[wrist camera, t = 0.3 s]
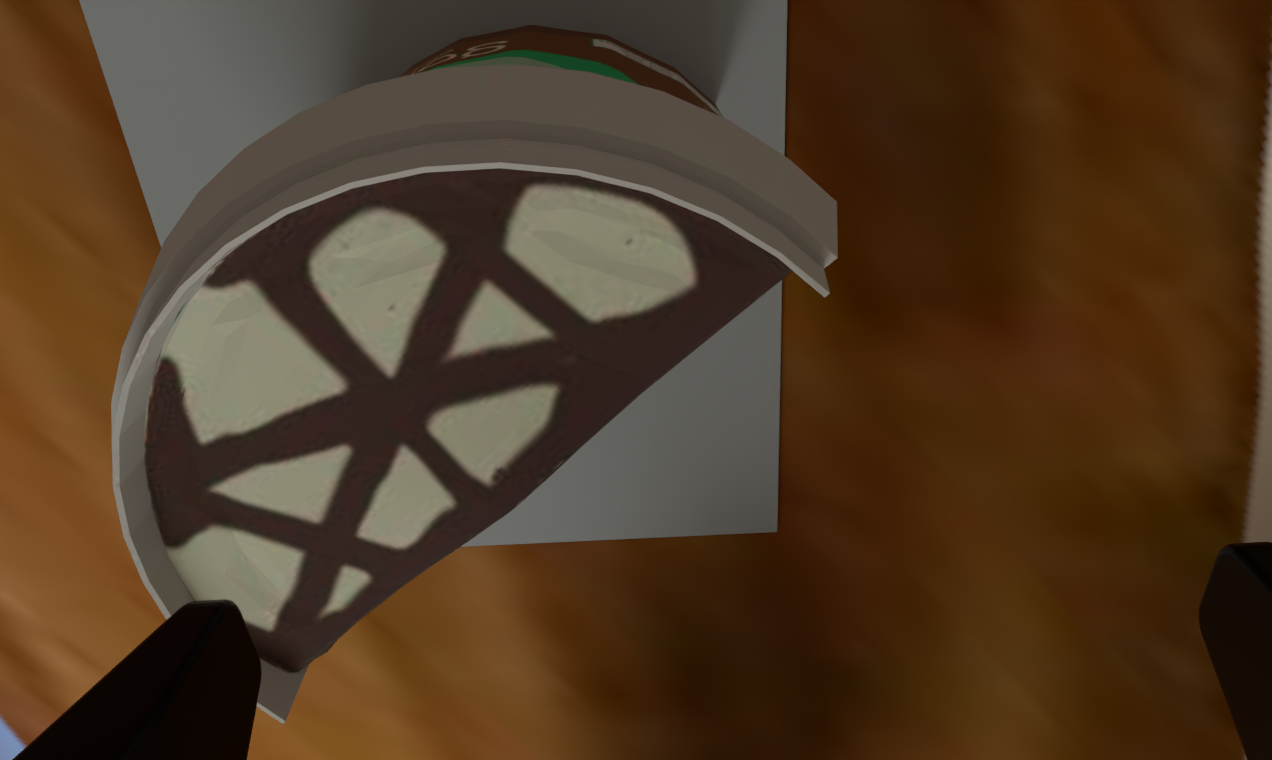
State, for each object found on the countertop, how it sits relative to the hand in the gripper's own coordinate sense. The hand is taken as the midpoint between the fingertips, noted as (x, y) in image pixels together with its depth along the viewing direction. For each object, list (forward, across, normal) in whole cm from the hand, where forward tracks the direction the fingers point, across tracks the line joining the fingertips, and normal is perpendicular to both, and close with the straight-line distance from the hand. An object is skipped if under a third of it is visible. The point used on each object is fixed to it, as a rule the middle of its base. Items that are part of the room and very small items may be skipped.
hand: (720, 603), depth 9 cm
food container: (+14, +5, +1) cm, 15 cm away
